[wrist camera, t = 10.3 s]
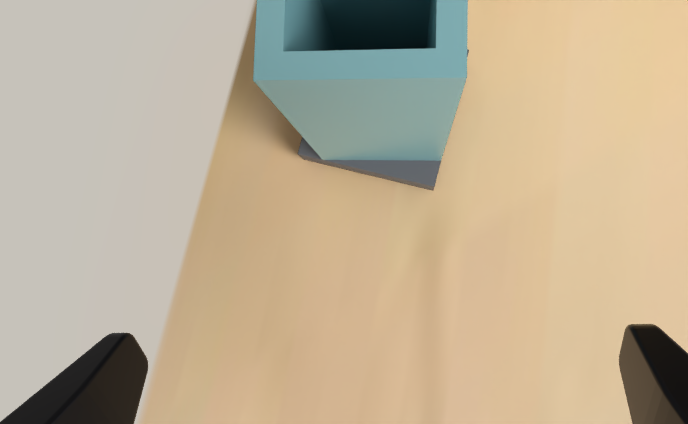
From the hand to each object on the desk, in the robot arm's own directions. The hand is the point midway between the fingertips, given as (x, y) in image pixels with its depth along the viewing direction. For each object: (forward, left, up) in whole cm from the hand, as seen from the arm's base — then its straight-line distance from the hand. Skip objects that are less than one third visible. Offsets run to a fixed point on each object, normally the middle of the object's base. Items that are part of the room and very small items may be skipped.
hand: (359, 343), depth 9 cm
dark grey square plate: (+8, +2, -13) cm, 16 cm away
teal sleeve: (+8, +2, -12) cm, 15 cm away
